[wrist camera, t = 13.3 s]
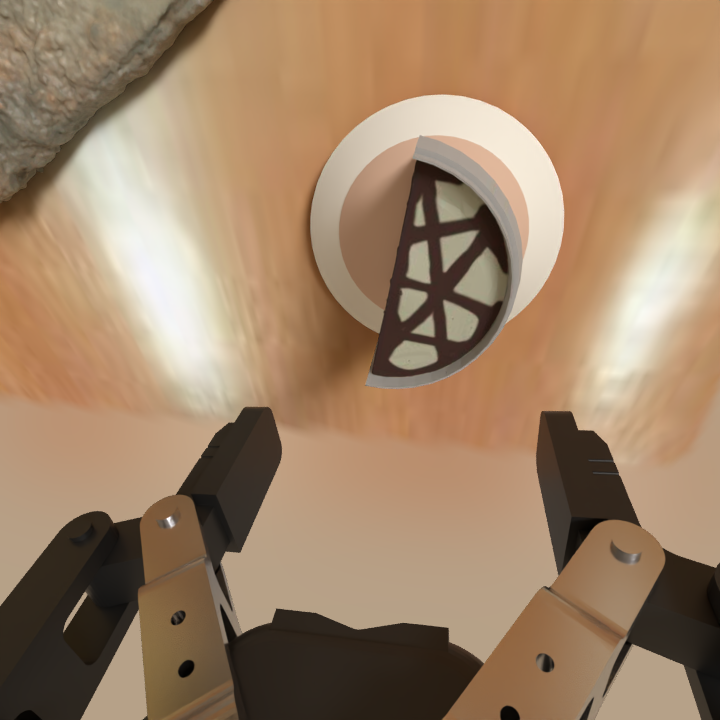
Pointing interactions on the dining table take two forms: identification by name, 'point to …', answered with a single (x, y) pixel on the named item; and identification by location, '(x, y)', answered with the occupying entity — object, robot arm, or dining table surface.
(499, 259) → the food container
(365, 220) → the dish
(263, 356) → the dining table surface
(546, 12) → the dining table surface
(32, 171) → the elongated rock
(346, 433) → the dining table surface
